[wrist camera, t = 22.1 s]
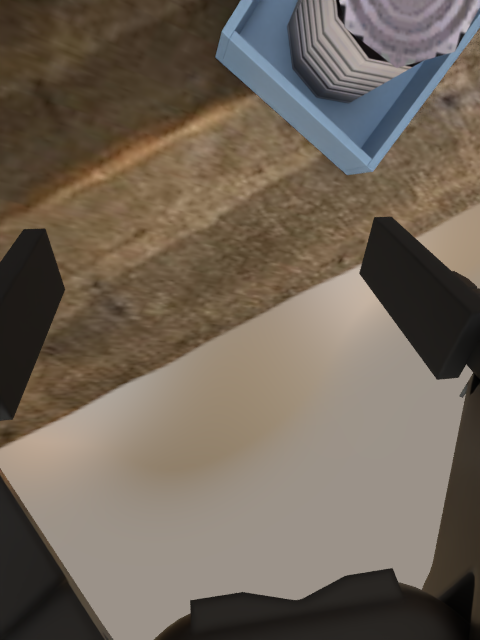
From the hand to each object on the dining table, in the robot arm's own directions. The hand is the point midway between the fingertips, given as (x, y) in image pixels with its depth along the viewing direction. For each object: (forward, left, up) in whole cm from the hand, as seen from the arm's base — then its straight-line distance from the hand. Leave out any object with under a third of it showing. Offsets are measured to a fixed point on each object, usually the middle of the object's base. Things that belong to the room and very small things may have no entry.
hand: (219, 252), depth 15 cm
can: (+2, +22, -25) cm, 34 cm away
